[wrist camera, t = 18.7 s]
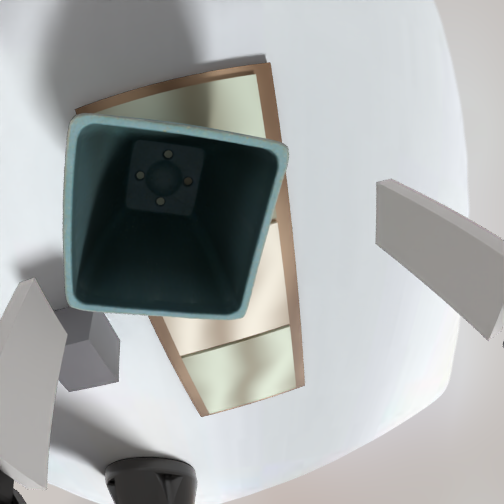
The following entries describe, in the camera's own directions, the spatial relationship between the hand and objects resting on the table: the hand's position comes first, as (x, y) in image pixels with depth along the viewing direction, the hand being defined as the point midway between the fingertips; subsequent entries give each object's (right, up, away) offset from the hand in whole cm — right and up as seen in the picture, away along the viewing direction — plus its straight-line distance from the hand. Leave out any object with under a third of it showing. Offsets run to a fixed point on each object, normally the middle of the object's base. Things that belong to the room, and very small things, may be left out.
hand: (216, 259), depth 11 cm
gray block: (-13, -6, +14) cm, 21 cm away
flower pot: (-5, +5, +9) cm, 12 cm away
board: (-1, -3, +16) cm, 16 cm away
